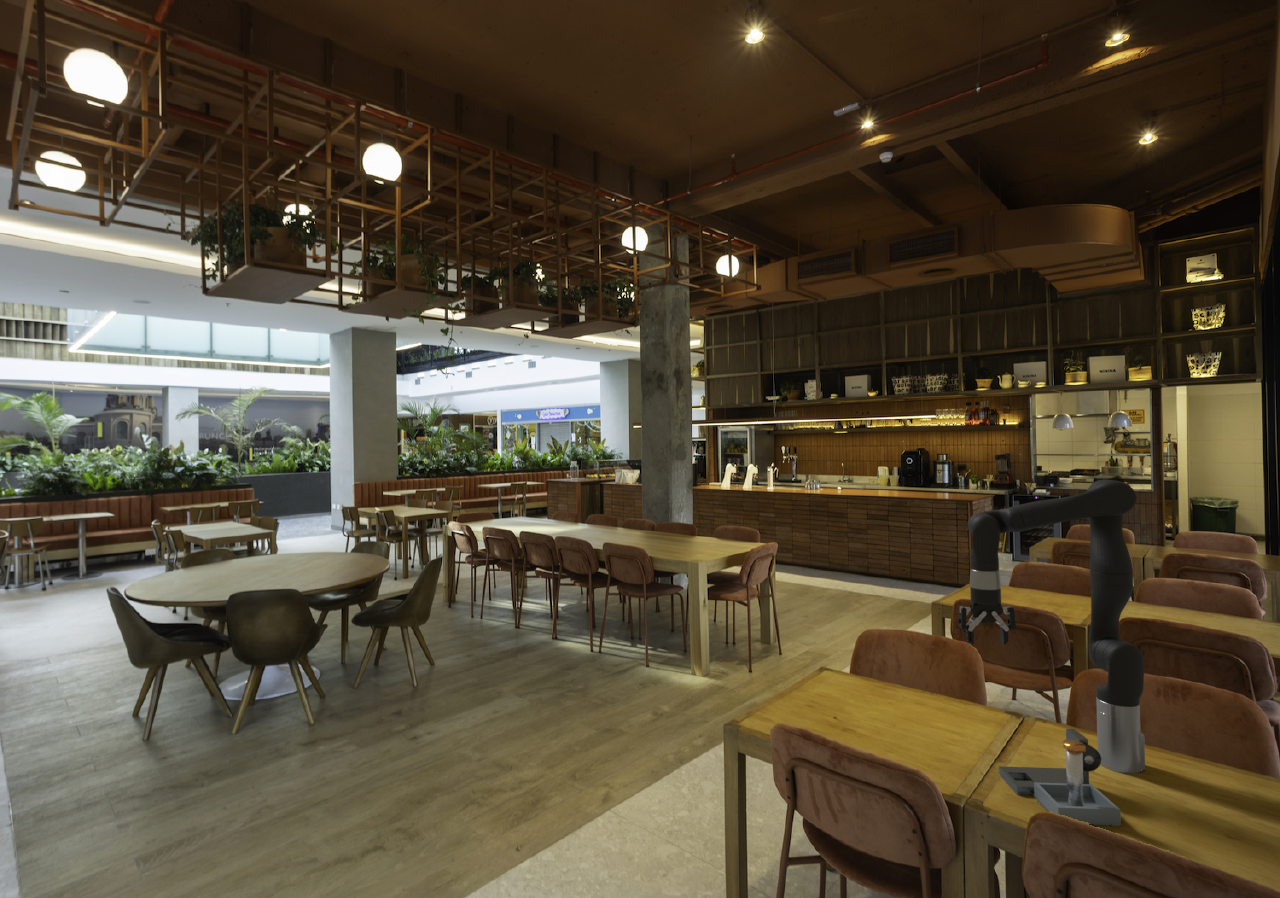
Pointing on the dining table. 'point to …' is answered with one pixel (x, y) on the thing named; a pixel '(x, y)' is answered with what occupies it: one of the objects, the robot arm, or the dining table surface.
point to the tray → (1093, 811)
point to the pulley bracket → (1050, 769)
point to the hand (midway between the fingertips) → (987, 643)
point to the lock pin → (1074, 772)
